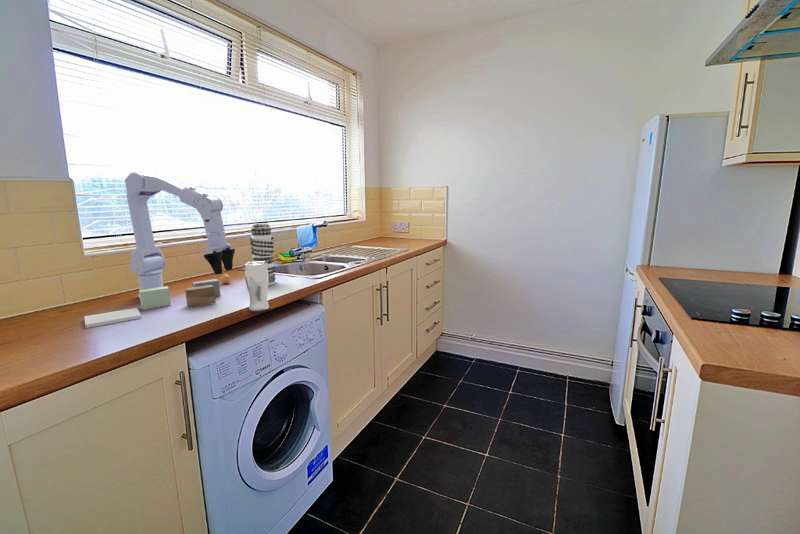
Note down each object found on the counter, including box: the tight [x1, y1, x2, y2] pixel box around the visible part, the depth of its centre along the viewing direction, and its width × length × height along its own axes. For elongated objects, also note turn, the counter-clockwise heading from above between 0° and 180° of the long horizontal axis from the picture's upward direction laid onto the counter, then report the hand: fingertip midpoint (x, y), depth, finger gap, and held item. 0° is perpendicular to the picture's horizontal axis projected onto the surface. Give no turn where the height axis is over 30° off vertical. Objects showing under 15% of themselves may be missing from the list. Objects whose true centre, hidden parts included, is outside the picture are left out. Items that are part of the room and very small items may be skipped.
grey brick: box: [191, 278, 221, 298], centre depth 136 cm, size 4×8×6 cm, turn 131°
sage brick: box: [138, 285, 172, 310], centre depth 125 cm, size 4×8×6 cm, turn 131°
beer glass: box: [244, 261, 270, 312], centre depth 121 cm, size 7×7×15 cm
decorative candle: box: [249, 222, 276, 286], centre depth 155 cm, size 9×9×25 cm
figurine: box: [219, 264, 232, 285], centre depth 157 cm, size 8×6×12 cm
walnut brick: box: [184, 285, 217, 309], centre depth 127 cm, size 4×8×6 cm, turn 131°
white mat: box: [84, 307, 142, 329], centre depth 113 cm, size 10×13×1 cm
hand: (224, 272), depth 129 cm, fingers open, 7 cm apart
